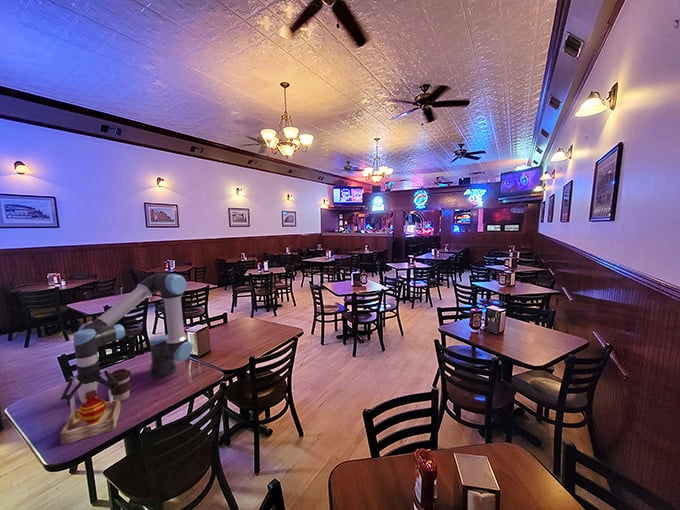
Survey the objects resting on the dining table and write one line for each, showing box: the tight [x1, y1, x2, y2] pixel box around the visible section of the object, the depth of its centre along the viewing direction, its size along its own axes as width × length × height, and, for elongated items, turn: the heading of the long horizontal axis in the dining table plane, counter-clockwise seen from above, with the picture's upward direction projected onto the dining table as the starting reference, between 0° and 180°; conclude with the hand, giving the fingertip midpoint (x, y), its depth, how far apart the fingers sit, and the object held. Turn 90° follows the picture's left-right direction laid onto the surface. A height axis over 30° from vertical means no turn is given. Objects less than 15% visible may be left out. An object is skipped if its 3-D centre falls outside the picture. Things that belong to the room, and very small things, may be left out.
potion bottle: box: [77, 390, 107, 426], centre depth 131 cm, size 10×10×15 cm
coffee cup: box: [106, 368, 132, 402], centre depth 152 cm, size 10×10×15 cm
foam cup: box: [74, 379, 98, 404], centre depth 151 cm, size 10×9×13 cm
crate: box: [59, 398, 122, 446], centre depth 132 cm, size 18×18×5 cm
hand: (92, 406), depth 132 cm, fingers open, 13 cm apart
